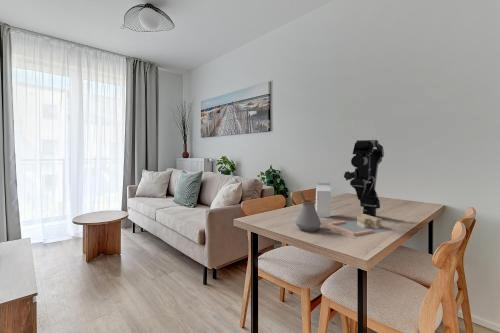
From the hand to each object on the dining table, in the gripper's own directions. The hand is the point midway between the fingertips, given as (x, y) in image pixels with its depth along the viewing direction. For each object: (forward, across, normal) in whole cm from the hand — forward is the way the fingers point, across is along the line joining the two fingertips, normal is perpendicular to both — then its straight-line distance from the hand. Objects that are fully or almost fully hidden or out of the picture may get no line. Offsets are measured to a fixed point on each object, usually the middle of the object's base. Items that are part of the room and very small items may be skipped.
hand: (362, 198), depth 119 cm
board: (+13, +9, 0) cm, 16 cm away
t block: (+12, +3, +3) cm, 13 cm away
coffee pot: (+13, +20, -20) cm, 31 cm away
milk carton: (+14, -2, -21) cm, 25 cm away
